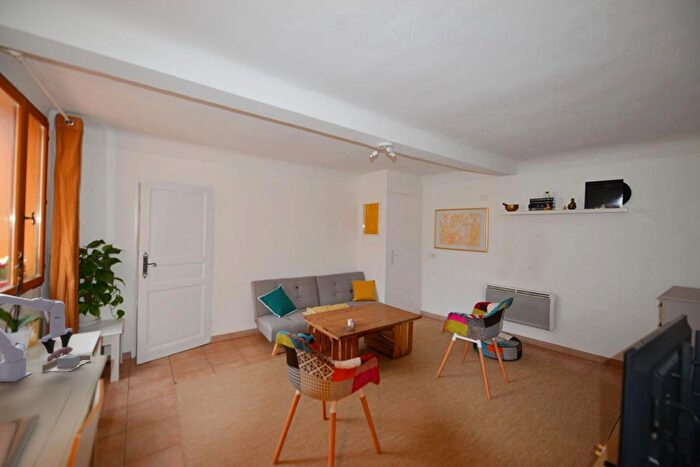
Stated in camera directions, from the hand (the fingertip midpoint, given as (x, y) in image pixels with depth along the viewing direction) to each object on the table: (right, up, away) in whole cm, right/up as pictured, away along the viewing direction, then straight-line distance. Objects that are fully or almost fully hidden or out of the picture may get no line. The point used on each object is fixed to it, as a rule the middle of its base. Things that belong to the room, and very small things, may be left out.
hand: (57, 350), depth 155 cm
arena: (+3, -9, +2) cm, 10 cm away
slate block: (+5, -9, +1) cm, 10 cm away
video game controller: (-11, -9, +12) cm, 19 cm away
